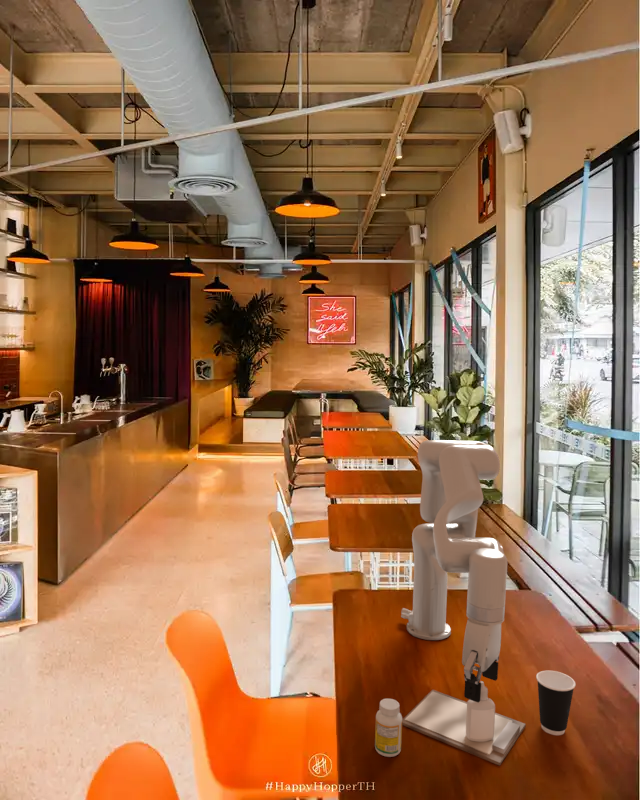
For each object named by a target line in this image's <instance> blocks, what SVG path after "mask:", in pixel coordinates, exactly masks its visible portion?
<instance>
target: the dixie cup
mask: <svg viewBox="0 0 640 800" xmlns="http://www.w3.org/2000/svg"><path fill="white" fill-rule="evenodd" d="M535 678H536V681H537V693H538V707H539V708H538V709H539V710H538V711H539V723H540V726H541V729H542V730H543V732H545V733H547V734H549V735H552V736H562V735H564V734H565V733H566V732H565V731H566V729H567V727H568V721H569V716H570V710H571V706H572V701H573V700H572V699H573V694H574V689H575V687H576V681H575V680H574V679H573V678H572V677H571V676H569V675H568V674H565V673H563V672H560V671H557V670H548V669H547V670H542V671H539V672H537V673H536V676H535Z"/></svg>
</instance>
